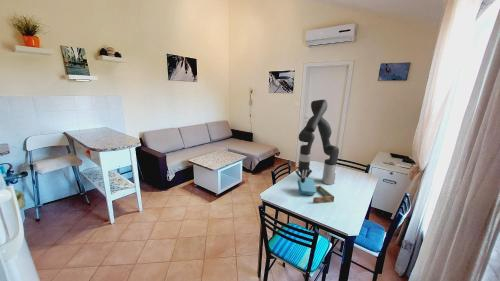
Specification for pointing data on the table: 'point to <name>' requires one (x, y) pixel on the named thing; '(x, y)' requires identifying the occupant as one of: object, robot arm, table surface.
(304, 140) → the robot arm
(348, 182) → the table surface
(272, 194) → the table surface
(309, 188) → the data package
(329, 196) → the brown wooden u shape
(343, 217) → the table surface
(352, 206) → the table surface
